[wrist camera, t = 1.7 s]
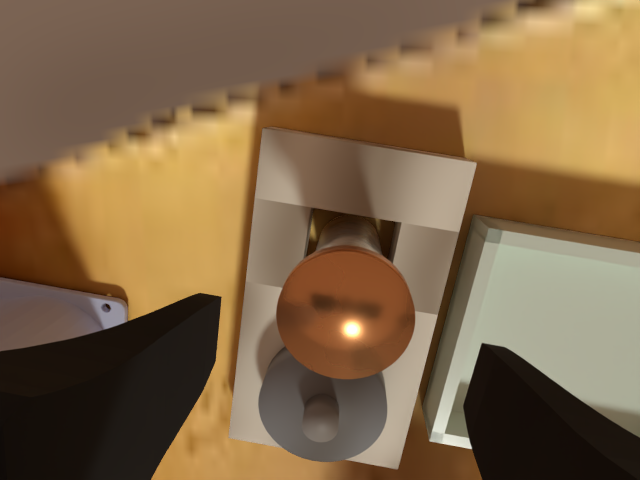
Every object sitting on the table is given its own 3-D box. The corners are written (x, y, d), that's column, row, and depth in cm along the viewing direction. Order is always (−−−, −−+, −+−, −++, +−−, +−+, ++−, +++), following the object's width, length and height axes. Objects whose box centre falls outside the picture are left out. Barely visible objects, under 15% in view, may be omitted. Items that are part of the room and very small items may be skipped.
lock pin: (299, 277, 22) (268, 366, 14) (311, 193, 21) (285, 241, 13) (384, 292, 22) (399, 390, 14) (402, 208, 21) (429, 266, 13)
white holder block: (238, 412, 25) (212, 479, 20) (271, 126, 20) (246, 130, 16) (394, 441, 24) (403, 516, 20) (465, 157, 20) (497, 171, 15)
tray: (421, 407, 24) (429, 441, 21) (473, 214, 20) (488, 227, 18) (644, 448, 23) (677, 487, 21) (732, 257, 20) (783, 277, 18)
